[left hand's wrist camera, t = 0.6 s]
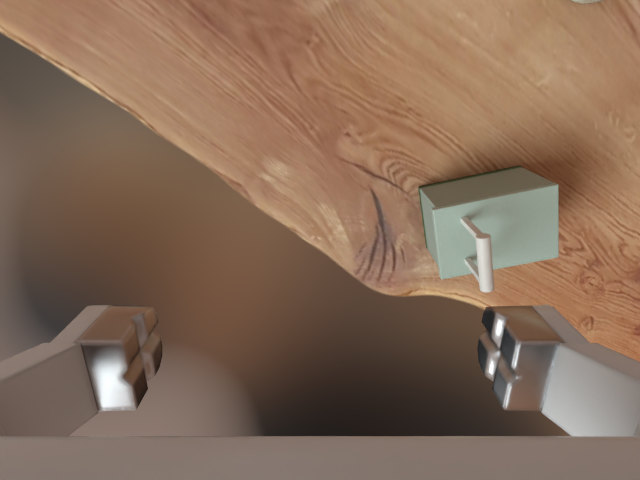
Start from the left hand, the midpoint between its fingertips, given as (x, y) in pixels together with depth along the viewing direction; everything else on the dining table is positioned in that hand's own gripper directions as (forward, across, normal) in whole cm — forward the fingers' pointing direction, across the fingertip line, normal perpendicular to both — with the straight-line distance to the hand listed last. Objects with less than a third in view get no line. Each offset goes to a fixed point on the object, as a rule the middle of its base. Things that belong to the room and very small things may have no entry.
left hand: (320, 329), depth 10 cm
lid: (+37, -21, +12) cm, 44 cm away
